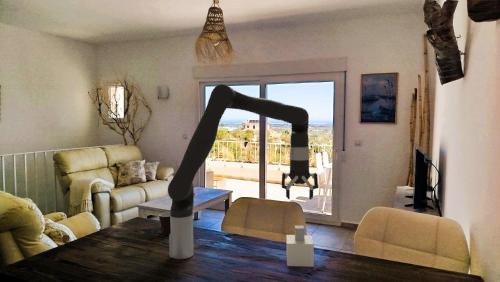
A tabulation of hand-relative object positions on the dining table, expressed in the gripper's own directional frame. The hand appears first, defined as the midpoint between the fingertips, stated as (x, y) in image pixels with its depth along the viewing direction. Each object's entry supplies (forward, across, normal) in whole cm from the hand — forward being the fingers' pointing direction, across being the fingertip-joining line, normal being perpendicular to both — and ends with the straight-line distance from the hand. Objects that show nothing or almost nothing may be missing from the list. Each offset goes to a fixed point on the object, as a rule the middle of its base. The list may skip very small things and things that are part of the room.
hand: (299, 199), depth 134 cm
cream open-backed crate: (+25, 0, 0) cm, 25 cm away
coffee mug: (+25, -64, +31) cm, 75 cm away
